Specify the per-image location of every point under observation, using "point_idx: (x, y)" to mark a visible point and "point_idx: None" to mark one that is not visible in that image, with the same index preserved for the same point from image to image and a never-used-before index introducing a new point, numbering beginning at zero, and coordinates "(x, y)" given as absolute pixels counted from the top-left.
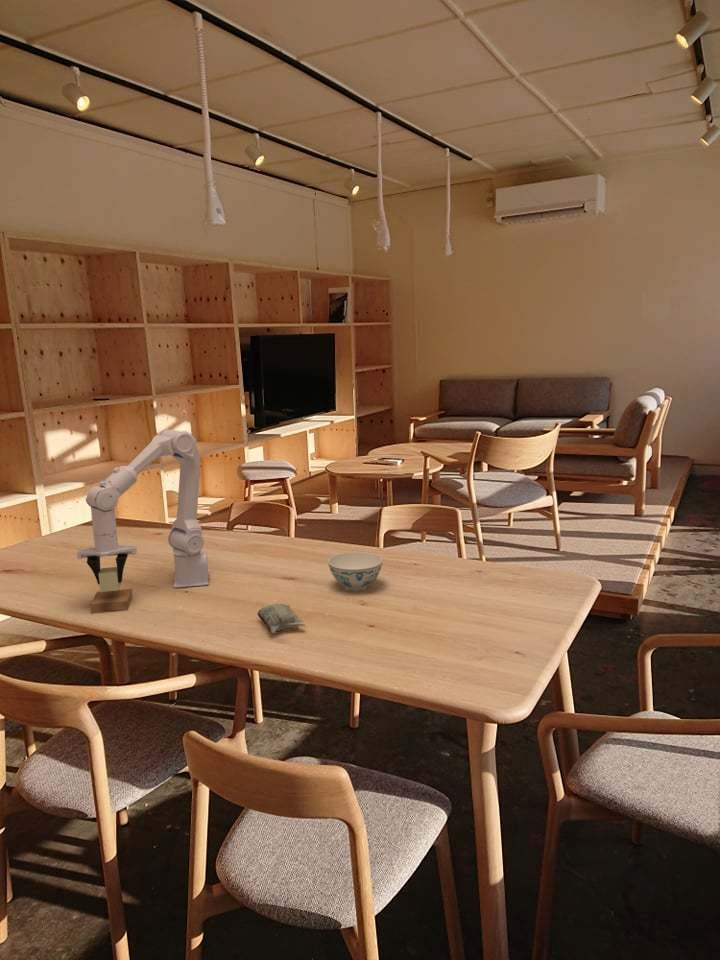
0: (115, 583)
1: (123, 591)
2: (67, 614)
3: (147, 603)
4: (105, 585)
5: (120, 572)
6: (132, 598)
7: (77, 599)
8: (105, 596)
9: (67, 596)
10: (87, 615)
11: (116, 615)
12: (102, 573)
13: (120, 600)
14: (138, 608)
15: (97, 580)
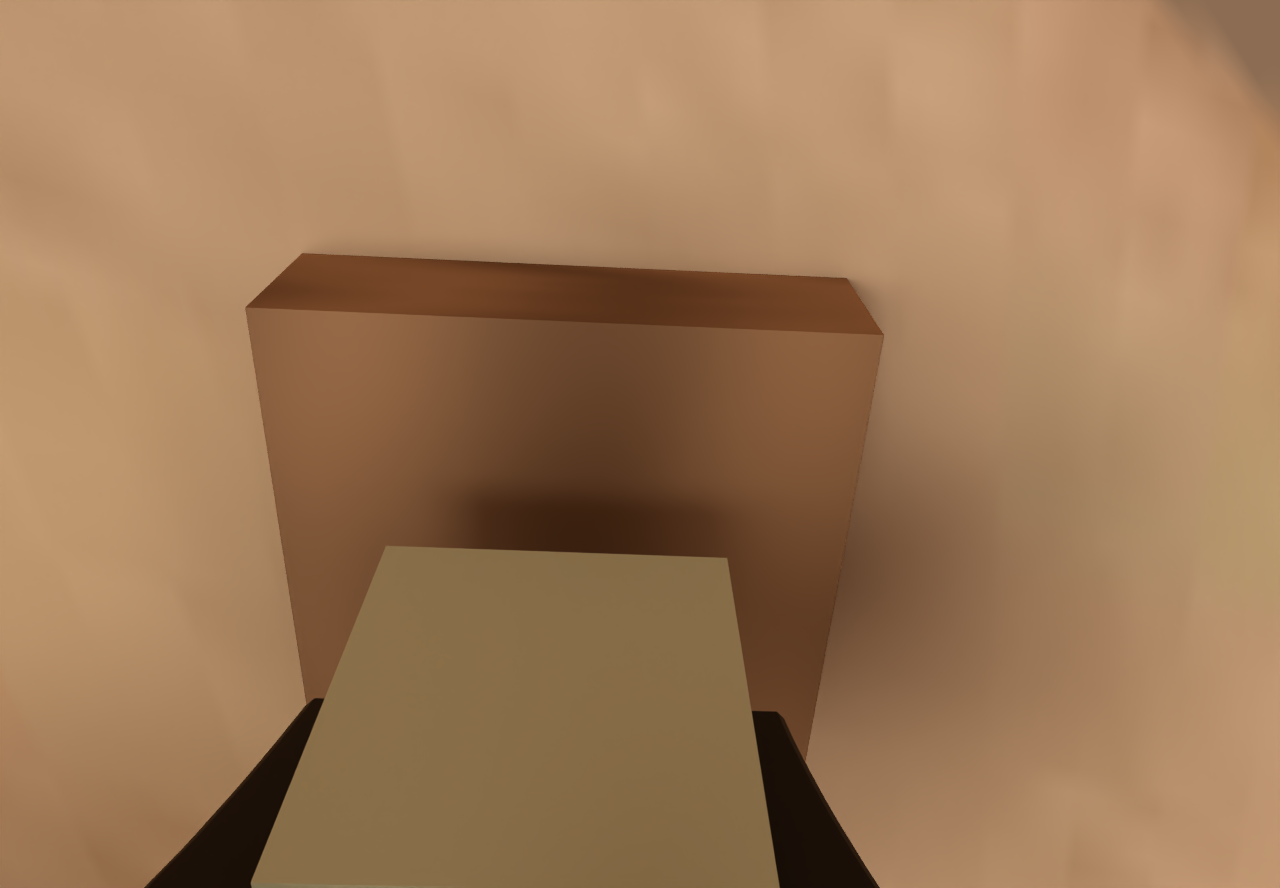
0: (397, 643)
1: None
2: (1183, 345)
3: (79, 447)
4: (621, 635)
5: (177, 883)
6: None
7: (1019, 778)
8: None
9: (1119, 871)
10: (905, 220)
11: (443, 79)
12: (667, 884)
13: (377, 368)
14: (154, 290)
15: (798, 769)
